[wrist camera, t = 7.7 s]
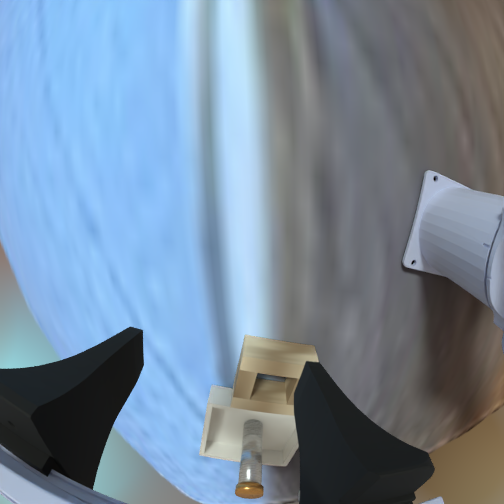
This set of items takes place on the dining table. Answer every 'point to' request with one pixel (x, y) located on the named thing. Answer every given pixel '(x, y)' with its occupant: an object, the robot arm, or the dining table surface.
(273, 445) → the tray
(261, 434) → the pin
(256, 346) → the beige square frame
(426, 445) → the dining table surface
